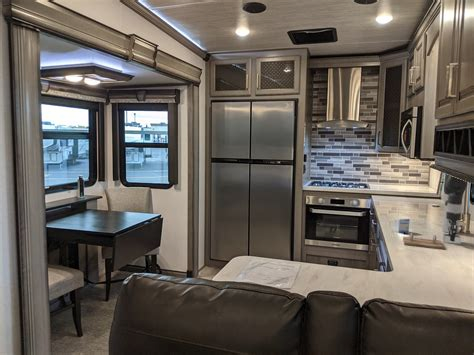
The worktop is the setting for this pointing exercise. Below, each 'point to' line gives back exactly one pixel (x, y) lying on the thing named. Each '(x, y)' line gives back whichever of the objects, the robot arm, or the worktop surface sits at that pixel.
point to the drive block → (447, 239)
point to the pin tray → (423, 242)
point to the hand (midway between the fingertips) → (451, 239)
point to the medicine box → (401, 225)
